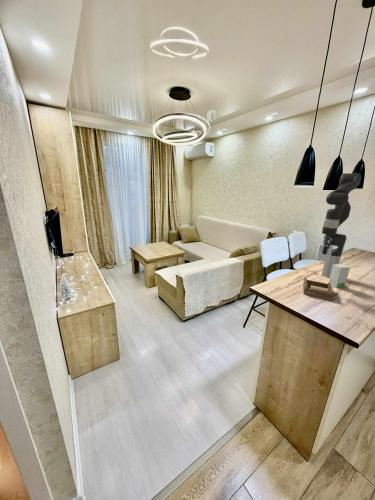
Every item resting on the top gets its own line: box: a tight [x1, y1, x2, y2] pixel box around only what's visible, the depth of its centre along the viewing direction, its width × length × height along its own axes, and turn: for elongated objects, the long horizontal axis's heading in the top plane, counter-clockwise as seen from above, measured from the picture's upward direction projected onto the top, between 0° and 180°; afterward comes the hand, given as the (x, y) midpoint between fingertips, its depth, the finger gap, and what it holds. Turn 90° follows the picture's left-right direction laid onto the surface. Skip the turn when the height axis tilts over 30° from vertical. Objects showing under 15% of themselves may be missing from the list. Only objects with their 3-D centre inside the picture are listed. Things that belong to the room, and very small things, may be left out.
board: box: [315, 243, 334, 262], centre depth 132 cm, size 3×7×10 cm, turn 63°
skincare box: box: [328, 263, 351, 289], centre depth 142 cm, size 8×7×16 cm
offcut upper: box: [310, 285, 328, 292], centre depth 129 cm, size 4×9×2 cm, turn 63°
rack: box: [302, 277, 335, 301], centre depth 132 cm, size 16×15×6 cm
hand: (324, 253), depth 132 cm, fingers closed on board, 3 cm apart
